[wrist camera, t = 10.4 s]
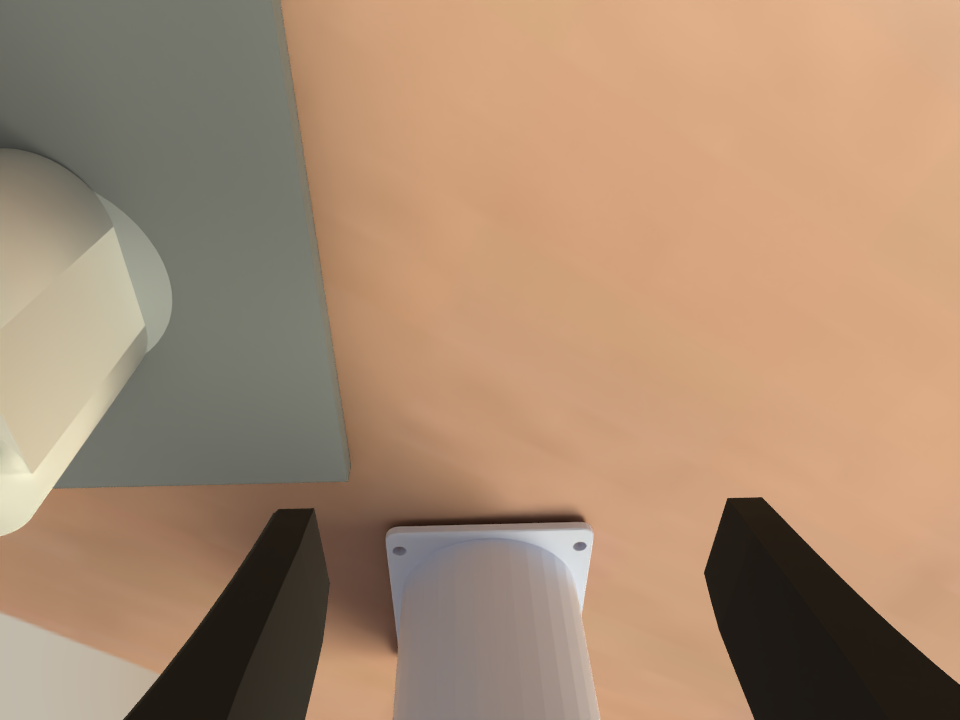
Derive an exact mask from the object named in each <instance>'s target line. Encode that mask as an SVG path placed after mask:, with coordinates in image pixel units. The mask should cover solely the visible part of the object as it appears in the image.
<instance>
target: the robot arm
mask: <svg viewBox="0 0 960 720" xmlns="http://www.w3.org/2000/svg"><path fill="white" fill-rule="evenodd" d="M593 538H594V535H593V530H592V527H591V526H590V524H588V523H585V522H556V523H517V524H478V525H439V526H400V527H393V528H391V529H389V530H388V532H387V534H386V550H387V558H388V567H389V575H390V583H391V591H392V600H393V608H394V616H395V624H396V633H397V641H398V656H397V670H396V683H395V696H394V710H393V720H601V719H600V713H599V708H598V703H597V697H596V692H595V686H594V681H593V676H592V670H591V665H590V659H589V654H588V649H587V643H586V638H585V632H584V627H583V621H582V609H583V603H584V596H585V590H586V583H587V577H588V570H589V564H590V557H591V551H592V544H593ZM577 542H579V543H577ZM400 547H401V548H400ZM704 575H705V579H706V583H707V587H708V591H709V595H710V598H711V602H712V606H713V610H714V613H715V617H716V620H717V624H718V628H719V631H720V633H721V636H722V639H723V641H724V644H725V646H726V649H727V652H728V654H729V657H730V659H731V662H732V664H733V667H734V669H735V672H736V674H737V677H738V679H739V682H740V684H741V687H742V689H743V692H744V694H745V697H746V699H747V702H748V704H749V707H750V709H751V712H752V714H753V717H754V719H755V720H960V685H959V684H958V683H957V682H956V681H955V680H953V679H952V678H951V677H950V676H949V675H947V674H946V673H945V672H944V671H943V670H941V669H940V668H939V667H938V666H937V665H935V664H934V663H933V662H932V661H931V660H930V659H928V658H927V657H926V656H925V655H924V654H923V653H922V652H921V651H919V650H918V649H917V648H916V647H915V646H914V645H913V644H912V643H910V642H909V641H908V640H907V639H906V638H905V637H904V636H902V635H901V634H900V633H899V632H898V631H897V630H896V629H895V628H893V627H892V626H891V625H890V624H889V623H888V622H887V621H886V620H885V619H884V618H883V617H882V616H881V615H879V614H878V613H877V612H876V611H875V610H874V609H873V608H872V607H871V606H870V605H869V604H868V603H867V602H866V601H865V600H864V599H863V598H862V597H860V596H859V595H858V594H857V593H856V592H855V591H854V590H853V589H852V588H851V587H850V586H849V585H848V584H847V583H846V582H845V581H844V580H843V579H842V578H841V577H840V576H839V575H838V574H837V573H836V572H835V571H834V570H833V569H832V568H831V567H830V566H829V565H828V564H827V563H826V562H825V561H824V560H823V559H822V558H821V557H820V556H819V555H818V554H817V553H816V552H815V551H814V550H813V549H812V548H811V547H810V546H809V545H808V544H807V543H806V542H805V541H804V540H803V539H802V538H801V537H800V536H799V535H798V534H797V533H796V532H795V531H794V530H793V529H792V528H791V527H790V526H789V525H788V523H787V522H786V521H785V520H784V519H783V518H782V517H781V516H780V515H779V514H778V513H777V512H776V511H775V510H774V509H773V508H772V507H771V506H770V505H769V504H768V503H767V502H766V501H765V500H764V499H763V498H762V497H758V498H727V501H726V505H725V508H724V511H723V514H722V517H721V521H720V524H719V527H718V530H717V533H716V536H715V540H714V543H713V546H712V549H711V552H710V556H709V559H708V562H707V565H706V568H705V571H704ZM329 585H330V583H329V578H328V573H327V568H326V563H325V558H324V554H323V549H322V544H321V539H320V534H319V529H318V525H317V520H316V515H315V510H314V508H310V509H278V510H277V511H276V512H275V513H274V514H273V515H272V517H271V518H270V520H269V522H268V523H267V525H266V527H265V528H264V530H263V532H262V533H261V535H260V536H259V538H258V540H257V541H256V543H255V544H254V546H253V548H252V549H251V551H250V552H249V554H248V555H247V557H246V558H245V560H244V561H243V563H242V564H241V566H240V567H239V569H238V570H237V572H236V573H235V575H234V576H233V578H232V580H231V581H230V582H229V584H228V585H227V587H226V588H225V590H224V591H223V592H222V594H221V595H220V597H219V598H218V599H217V601H216V602H215V604H214V605H213V607H212V608H211V609H210V611H209V612H208V614H207V615H206V616H205V618H204V619H203V621H202V622H201V623H200V625H199V626H198V627H197V629H196V630H195V631H194V633H193V634H192V635H191V637H190V638H189V639H188V640H187V642H186V643H185V644H184V646H183V647H182V648H181V649H180V651H179V652H178V653H177V655H176V656H175V657H174V658H173V660H172V661H171V662H170V664H169V665H168V666H167V667H166V669H165V670H164V671H163V673H162V674H161V675H160V676H159V678H158V679H157V680H156V681H155V683H154V684H153V685H152V686H151V687H150V689H149V690H148V691H147V692H146V693H145V695H144V696H143V697H142V698H141V699H140V701H139V702H138V703H137V704H136V705H135V706H134V708H133V709H132V710H131V711H130V712H129V713H128V715H127V716H126V717H125V718H124V719H123V720H305V717H306V713H307V708H308V704H309V700H310V696H311V691H312V687H313V683H314V678H315V674H316V669H317V665H318V661H319V656H320V652H321V647H322V643H323V635H324V628H325V620H326V612H327V603H328V594H329Z"/></svg>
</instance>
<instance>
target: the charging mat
mask: <svg viewBox="0 0 960 720" xmlns="http://www.w3.org/2000/svg"><path fill="white" fill-rule="evenodd" d="M0 148H10V149H18V150H24V151H28V152H31V153H35V154H38V155H41V156H43V157H45V158H48V159H50V160H52V161H54V162H56V163H58V164H59V165H61V166H63V167H64V168H66V169H67V170H69V171H70V172H72V173H73V174H74V175H76V176H77V177H78V178H79V179H81V180H82V181H83V182H84V183H85V184H86V185H87V186H88V187H89V188H90V189H91V190H92V191H93V192H94V194H95V195H96V196H97V197H98V198H99V200H100V201H101V203H102V204H103V206H104V207H105V209H106V211H107V213H108V215H109V217H110V219H111V221H112V224H113V227H114V230H115V233H116V236H117V239H118V242H119V245H120V248H121V251H122V255H123V258H124V261H125V264H126V267H127V270H128V273H129V276H130V279H131V283H132V286H133V289H134V292H135V295H136V298H137V301H138V304H139V308H140V311H141V314H142V317H143V320H144V323H145V327H146V331H147V338H148V342H147V350H146V353H145V356H144V358H143V360H142V361H141V363H140V364H139V366H138V367H137V368H136V370H135V371H134V373H133V374H132V376H131V377H130V378H129V380H128V381H127V383H126V384H125V386H124V387H123V388H122V390H121V391H120V393H119V394H118V396H117V397H116V398H115V400H114V401H113V403H112V404H111V405H110V407H109V408H108V410H107V411H106V413H105V414H104V415H103V417H102V418H101V420H100V421H99V423H98V424H97V425H96V427H95V428H94V430H93V431H92V433H91V434H90V435H89V437H88V438H87V440H86V441H85V442H84V444H83V445H82V447H81V448H80V450H79V451H78V452H77V454H76V455H75V457H74V458H73V460H72V461H71V462H70V464H69V465H68V467H67V468H66V470H65V471H64V472H63V474H62V475H61V477H60V478H59V479H58V481H57V482H56V484H55V485H54V487H53V488H96V487H139V486H181V485H224V484H267V483H310V482H348V478H349V473H350V467H351V463H350V456H349V450H348V443H347V437H346V430H345V424H344V417H343V410H342V404H341V397H340V391H339V384H338V377H337V371H336V364H335V358H334V351H333V345H332V338H331V331H330V325H329V318H328V312H327V305H326V298H325V292H324V285H323V279H322V272H321V266H320V259H319V252H318V246H317V239H316V233H315V226H314V220H313V213H312V206H311V200H310V193H309V187H308V180H307V173H306V167H305V160H304V154H303V147H302V141H301V134H300V127H299V121H298V114H297V108H296V101H295V94H294V88H293V81H292V75H291V68H290V62H289V55H288V48H287V42H286V35H285V29H284V22H283V16H282V9H281V2H280V0H0ZM53 488H52V489H53Z"/></svg>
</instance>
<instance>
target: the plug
mask: <svg viewBox="0 0 960 720" xmlns="http://www.w3.org/2000/svg"><path fill="white" fill-rule="evenodd" d="M147 342H148V338H147V331H146V327H145V323H144V320H143V317H142V314H141V311H140V308H139V304H138V301H137V298H136V295H135V292H134V289H133V286H132V283H131V279H130V276H129V273H128V270H127V267H126V264H125V261H124V258H123V255H122V251H121V248H120V245H119V242H118V239H117V236H116V233H115V230H114V227H113V224H112V221H111V219H110V217H109V215H108V213H107V211H106V209H105V207H104V206H103V204H102V203H101V201H100V200H99V198H98V197H97V196H96V195H95V194H94V192H93V191H92V190H91V189H90V188H89V187H88V186H87V185H86V184H85V183H84V182H83V181H82V180H81V179H79V178H78V177H77V176H76V175H74V174H73V173H72V172H70V171H69V170H67V169H66V168H64V167H63V166H61V165H59V164H58V163H56V162H54V161H52V160H50V159H48V158H45V157H43V156H41V155H38V154H35V153H31V152H28V151H24V150H18V149H10V148H0V536H3V535H6V534H9V533H11V532H14V531H16V530H18V529H19V528H21V527H23V526H24V525H25V524H26V523H27V522H28V521H29V520H30V519H31V518H32V516H33V515H34V514H35V512H36V511H37V509H38V508H39V507H40V505H41V504H42V502H43V501H44V499H45V498H46V497H47V495H48V494H49V492H50V491H51V489H52V488H53V487H54V485H55V484H56V482H57V481H58V479H59V478H60V477H61V475H62V474H63V472H64V471H65V470H66V468H67V467H68V465H69V464H70V462H71V461H72V460H73V458H74V457H75V455H76V454H77V452H78V451H79V450H80V448H81V447H82V445H83V444H84V442H85V441H86V440H87V438H88V437H89V435H90V434H91V433H92V431H93V430H94V428H95V427H96V425H97V424H98V423H99V421H100V420H101V418H102V417H103V415H104V414H105V413H106V411H107V410H108V408H109V407H110V405H111V404H112V403H113V401H114V400H115V398H116V397H117V396H118V394H119V393H120V391H121V390H122V388H123V387H124V386H125V384H126V383H127V381H128V380H129V378H130V377H131V376H132V374H133V373H134V371H135V370H136V368H137V367H138V366H139V364H140V363H141V361H142V360H143V358H144V356H145V353H146V350H147Z"/></svg>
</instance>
